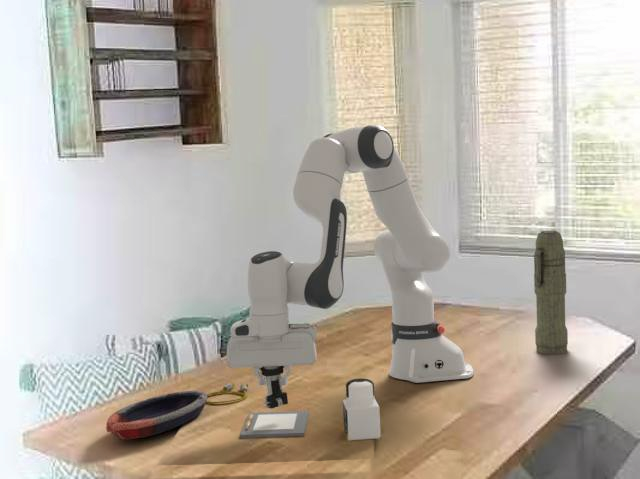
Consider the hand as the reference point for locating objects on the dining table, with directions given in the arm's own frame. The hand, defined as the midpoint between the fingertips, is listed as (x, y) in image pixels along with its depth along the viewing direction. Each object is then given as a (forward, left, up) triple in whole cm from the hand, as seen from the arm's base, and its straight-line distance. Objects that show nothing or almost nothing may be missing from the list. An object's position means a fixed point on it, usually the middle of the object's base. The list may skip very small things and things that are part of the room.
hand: (273, 384), depth 202 cm
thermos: (-74, -58, -10) cm, 95 cm away
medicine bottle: (-20, +8, -10) cm, 23 cm away
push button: (0, 0, -5) cm, 5 cm away
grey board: (0, 0, -9) cm, 9 cm away
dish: (+28, -4, -10) cm, 30 cm away
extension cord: (+14, -25, -10) cm, 31 cm away
